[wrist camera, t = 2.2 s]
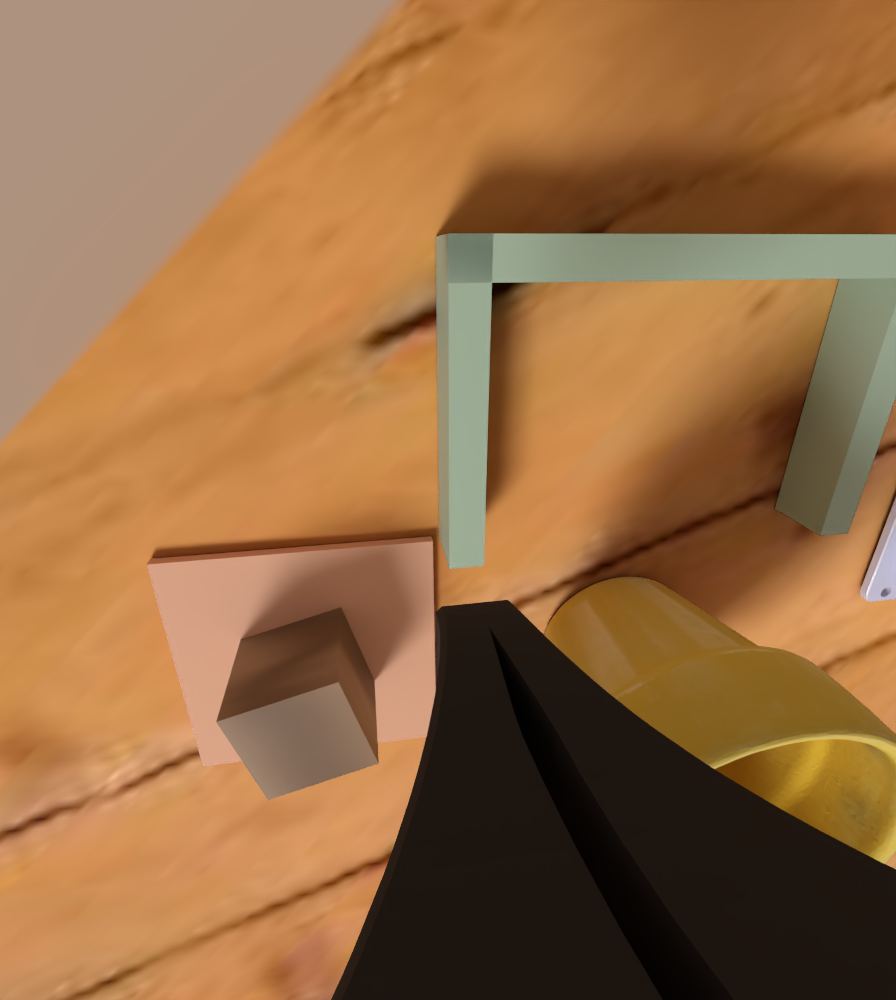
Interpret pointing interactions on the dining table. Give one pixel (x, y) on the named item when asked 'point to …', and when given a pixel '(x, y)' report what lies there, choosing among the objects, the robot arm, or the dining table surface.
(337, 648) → the walnut block
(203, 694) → the terracotta mat
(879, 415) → the frame
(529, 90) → the dining table surface
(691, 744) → the plant pot
